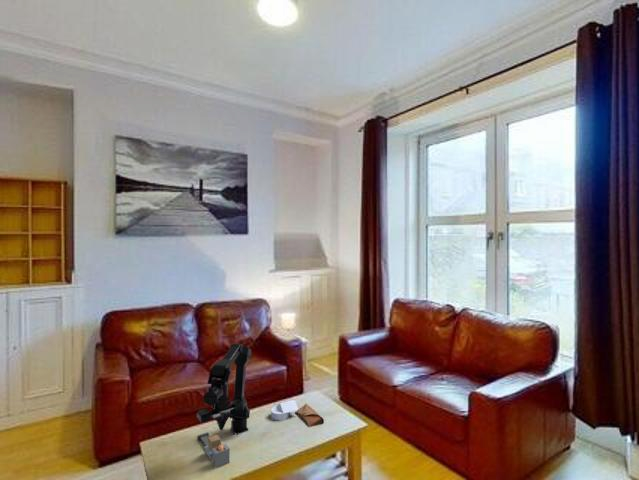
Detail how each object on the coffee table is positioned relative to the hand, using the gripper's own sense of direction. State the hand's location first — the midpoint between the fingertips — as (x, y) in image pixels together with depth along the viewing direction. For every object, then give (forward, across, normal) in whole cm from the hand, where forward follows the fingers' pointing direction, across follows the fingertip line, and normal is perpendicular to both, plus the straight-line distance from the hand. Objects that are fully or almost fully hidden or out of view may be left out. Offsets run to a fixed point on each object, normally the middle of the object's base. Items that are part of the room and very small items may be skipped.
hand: (221, 429), depth 157 cm
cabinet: (+12, +2, +4) cm, 12 cm away
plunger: (+8, +2, +4) cm, 9 cm away
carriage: (+12, +2, -3) cm, 12 cm away
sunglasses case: (+13, -49, -5) cm, 51 cm away
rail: (+12, +2, -8) cm, 14 cm away
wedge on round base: (+13, -40, -15) cm, 45 cm away
